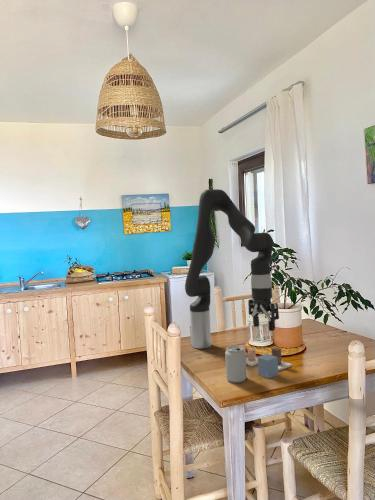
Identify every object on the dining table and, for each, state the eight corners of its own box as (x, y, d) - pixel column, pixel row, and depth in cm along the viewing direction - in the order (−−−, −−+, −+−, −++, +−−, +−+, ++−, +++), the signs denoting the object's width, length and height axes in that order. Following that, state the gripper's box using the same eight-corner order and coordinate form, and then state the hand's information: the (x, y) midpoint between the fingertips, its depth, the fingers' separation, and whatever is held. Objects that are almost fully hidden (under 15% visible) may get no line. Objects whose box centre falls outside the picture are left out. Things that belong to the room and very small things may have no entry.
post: (262, 365, 157) (261, 348, 157) (276, 360, 162) (275, 344, 161) (277, 371, 150) (276, 353, 150) (291, 366, 155) (290, 348, 154)
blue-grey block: (258, 374, 148) (257, 356, 148) (268, 370, 151) (267, 353, 151) (268, 378, 144) (267, 360, 144) (278, 374, 147) (277, 357, 146)
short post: (239, 361, 163) (239, 350, 163) (252, 357, 167) (251, 346, 166) (251, 366, 157) (251, 354, 157) (264, 361, 161) (263, 350, 161)
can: (248, 382, 141) (247, 350, 140) (228, 384, 141) (226, 351, 140) (244, 374, 149) (242, 343, 148) (224, 376, 148) (223, 345, 147)
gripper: (241, 285, 151) (244, 327, 152) (266, 289, 139) (269, 334, 140) (256, 283, 155) (259, 323, 156) (282, 286, 143) (284, 330, 144)
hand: (264, 328), depth 148 cm, fingers open, 8 cm apart
